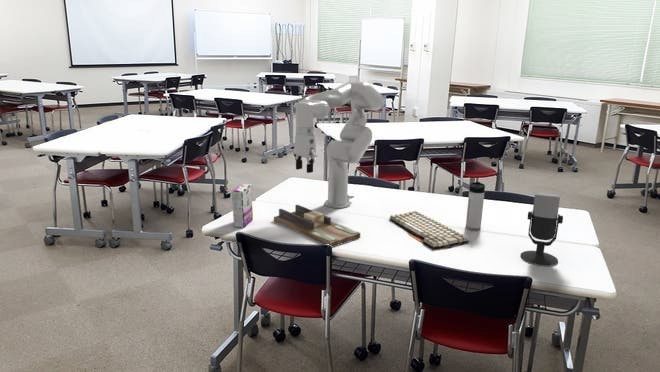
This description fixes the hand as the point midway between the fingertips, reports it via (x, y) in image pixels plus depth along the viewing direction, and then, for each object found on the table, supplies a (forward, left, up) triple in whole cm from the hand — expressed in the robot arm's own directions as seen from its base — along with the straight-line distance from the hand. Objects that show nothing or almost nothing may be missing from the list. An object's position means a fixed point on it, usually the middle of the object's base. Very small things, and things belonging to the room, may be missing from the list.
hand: (304, 170), depth 218 cm
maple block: (+6, +14, -20) cm, 25 cm away
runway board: (+6, +15, -22) cm, 27 cm away
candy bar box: (+26, -10, -22) cm, 35 cm away
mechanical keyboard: (-29, +46, -23) cm, 59 cm away
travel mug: (-48, +57, -22) cm, 78 cm away
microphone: (-39, +91, -22) cm, 101 cm away
